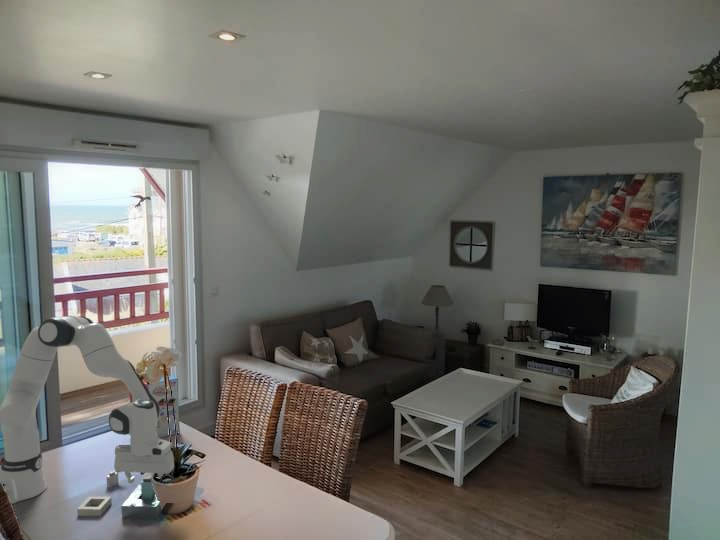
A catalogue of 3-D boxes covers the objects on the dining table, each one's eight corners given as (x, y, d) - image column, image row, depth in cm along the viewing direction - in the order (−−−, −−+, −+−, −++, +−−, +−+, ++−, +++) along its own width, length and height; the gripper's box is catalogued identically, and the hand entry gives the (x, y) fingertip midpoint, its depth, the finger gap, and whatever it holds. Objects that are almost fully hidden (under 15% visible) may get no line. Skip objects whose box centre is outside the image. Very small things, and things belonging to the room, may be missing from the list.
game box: (177, 429, 254) (175, 375, 251) (180, 433, 250) (178, 378, 246) (131, 439, 243) (128, 382, 240) (133, 443, 238) (131, 385, 235)
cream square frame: (77, 515, 183) (77, 508, 182) (89, 502, 191) (89, 496, 190) (100, 516, 183) (100, 509, 182) (111, 503, 191) (111, 496, 190)
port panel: (122, 518, 182) (121, 504, 181) (139, 496, 195) (138, 483, 195) (156, 518, 181) (156, 505, 181) (171, 496, 195) (171, 484, 195)
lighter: (109, 487, 201) (109, 468, 200) (106, 486, 202) (105, 467, 201) (125, 479, 207) (124, 460, 206) (121, 478, 208) (120, 459, 207)
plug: (141, 506, 187) (140, 479, 186) (145, 500, 191) (144, 474, 189) (151, 506, 187) (150, 479, 186) (155, 501, 191) (154, 474, 189)
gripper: (110, 448, 182) (111, 486, 184) (168, 450, 182) (169, 488, 183) (119, 440, 189) (119, 477, 190) (175, 443, 188) (175, 479, 190)
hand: (144, 482), depth 187 cm, fingers open, 8 cm apart
